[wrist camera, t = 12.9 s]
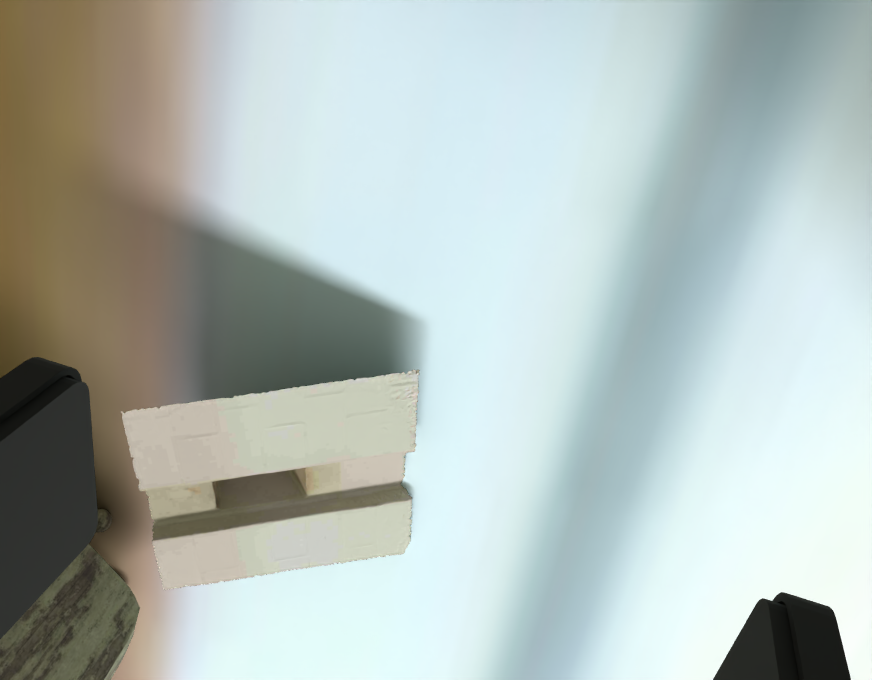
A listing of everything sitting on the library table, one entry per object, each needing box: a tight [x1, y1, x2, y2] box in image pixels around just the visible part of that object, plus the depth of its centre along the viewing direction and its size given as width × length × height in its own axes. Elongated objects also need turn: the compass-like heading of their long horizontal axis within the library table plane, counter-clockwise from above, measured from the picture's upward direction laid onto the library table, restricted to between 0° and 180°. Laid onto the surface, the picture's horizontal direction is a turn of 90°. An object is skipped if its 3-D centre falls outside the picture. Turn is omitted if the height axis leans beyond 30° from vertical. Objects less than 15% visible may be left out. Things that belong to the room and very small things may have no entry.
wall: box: [120, 370, 420, 590], centre depth 46 cm, size 16×9×15 cm
